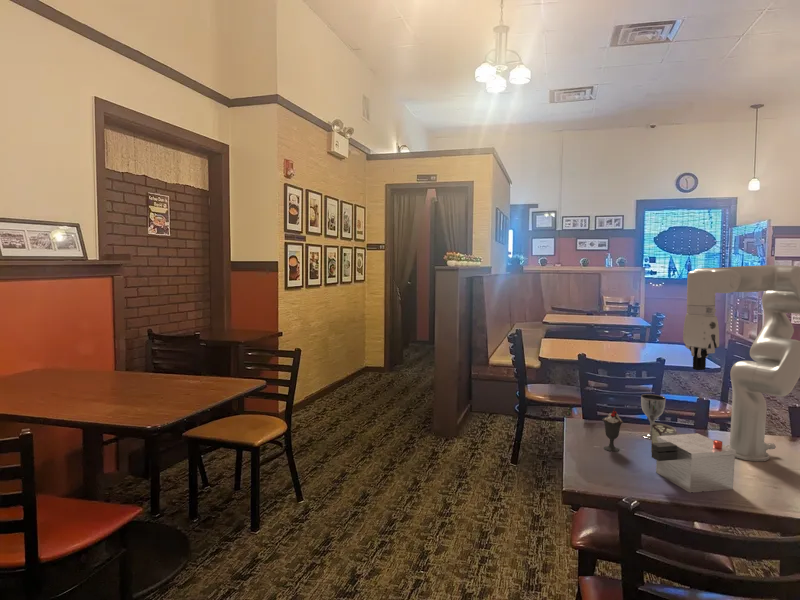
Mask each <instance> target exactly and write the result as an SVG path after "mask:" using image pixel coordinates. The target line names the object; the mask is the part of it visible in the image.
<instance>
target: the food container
mask: <svg viewBox="0 0 800 600" xmlns="http://www.w3.org/2000/svg"><path fill="white" fill-rule="evenodd" d="M651 428H652V440H651V448H650V449H651V450H650V452H651V453H652V443H658V440H657V436H667V435H678V433H677V430H676V428H675V427H674V426H671V425H668V424H664V423H661V422H652V426H651Z"/></svg>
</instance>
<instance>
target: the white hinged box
mask: <svg viewBox="0 0 800 600" xmlns="http://www.w3.org/2000/svg"><path fill="white" fill-rule="evenodd" d="M658 443H661V442H659V441H658ZM651 458H652V459H655V460H656V464H655V473H657V474H658V475H660V477H662V478H665V479H666V480H668V481H670V483H672V484H675V485H676V486H678V487H679V488H681V489H683V490H685V491H686V492H687V493H690V494H691V492H693V493H703V492H702V491H704V492H712V491H713V492H714V491H726V490H734V477H735V462H736V461H735V460H736V459H735V458H736V457H735V455H722V456H709V457H696V458H691V457H689V456H687V455H685V454H683V453H681V452H679V451H677V450H676V451H663V452H658V451H656V450H654V449H652V452H651Z"/></svg>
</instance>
